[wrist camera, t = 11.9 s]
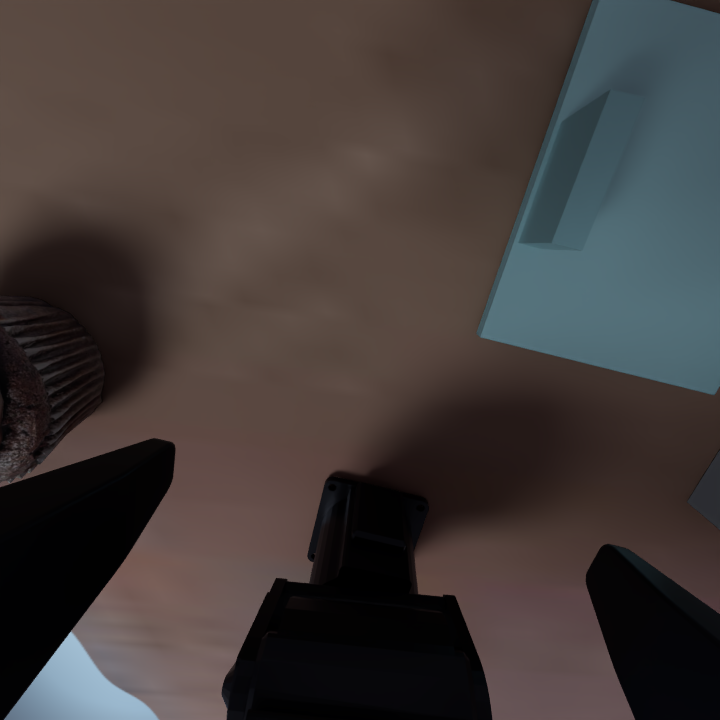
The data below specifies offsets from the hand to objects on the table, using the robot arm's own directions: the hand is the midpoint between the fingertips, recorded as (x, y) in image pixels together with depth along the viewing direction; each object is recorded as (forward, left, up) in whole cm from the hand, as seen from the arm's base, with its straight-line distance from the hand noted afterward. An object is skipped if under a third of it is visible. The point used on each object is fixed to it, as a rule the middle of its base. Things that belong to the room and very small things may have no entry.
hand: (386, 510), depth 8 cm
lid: (+9, -11, -13) cm, 19 cm away
